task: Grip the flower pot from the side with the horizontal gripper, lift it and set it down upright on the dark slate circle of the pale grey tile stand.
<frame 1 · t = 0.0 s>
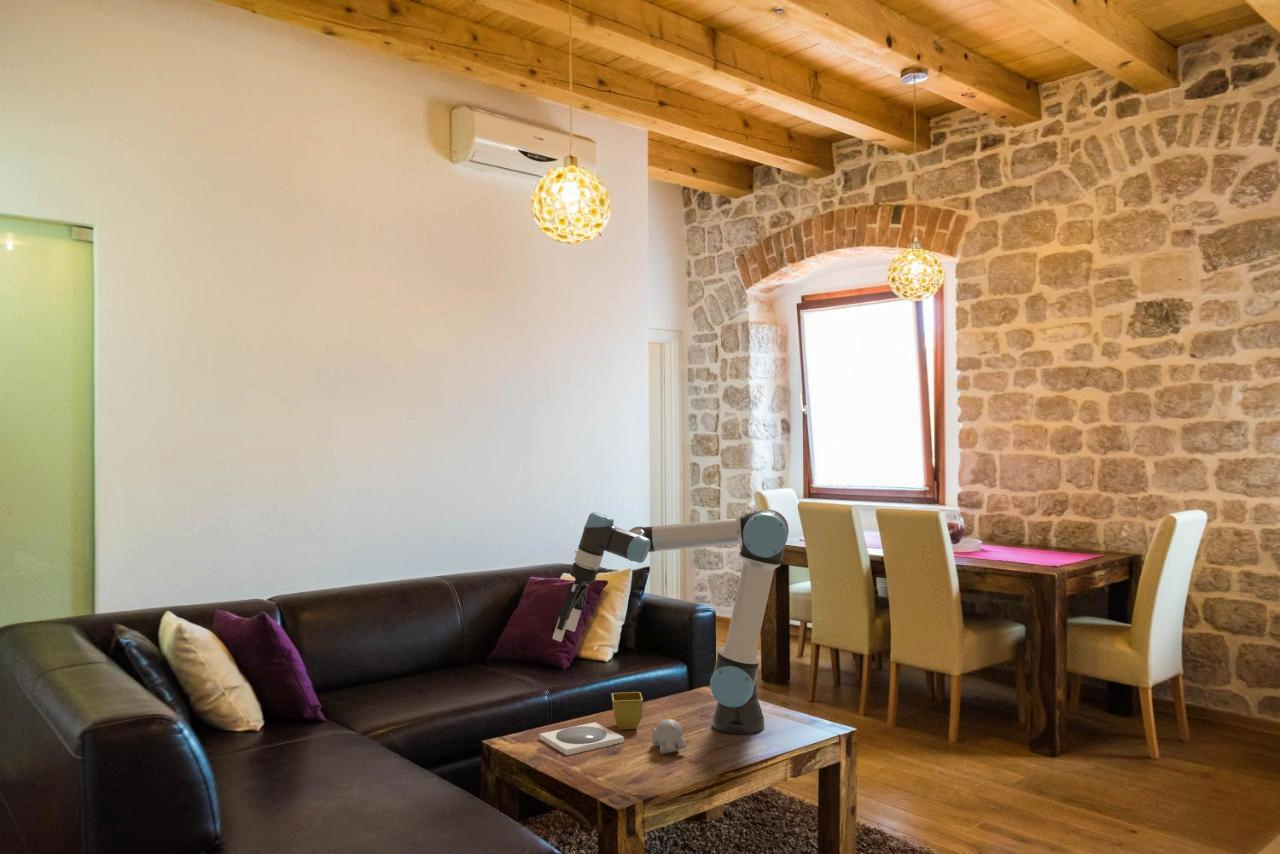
hand: (563, 635, 257), 28 cm above the table, tool tilted 20°, fingers open, 13 cm apart
flower pot: (627, 727, 261), on the table
hippopotamus figurine: (666, 751, 240), on the table
tile stand: (581, 740, 249), on the table
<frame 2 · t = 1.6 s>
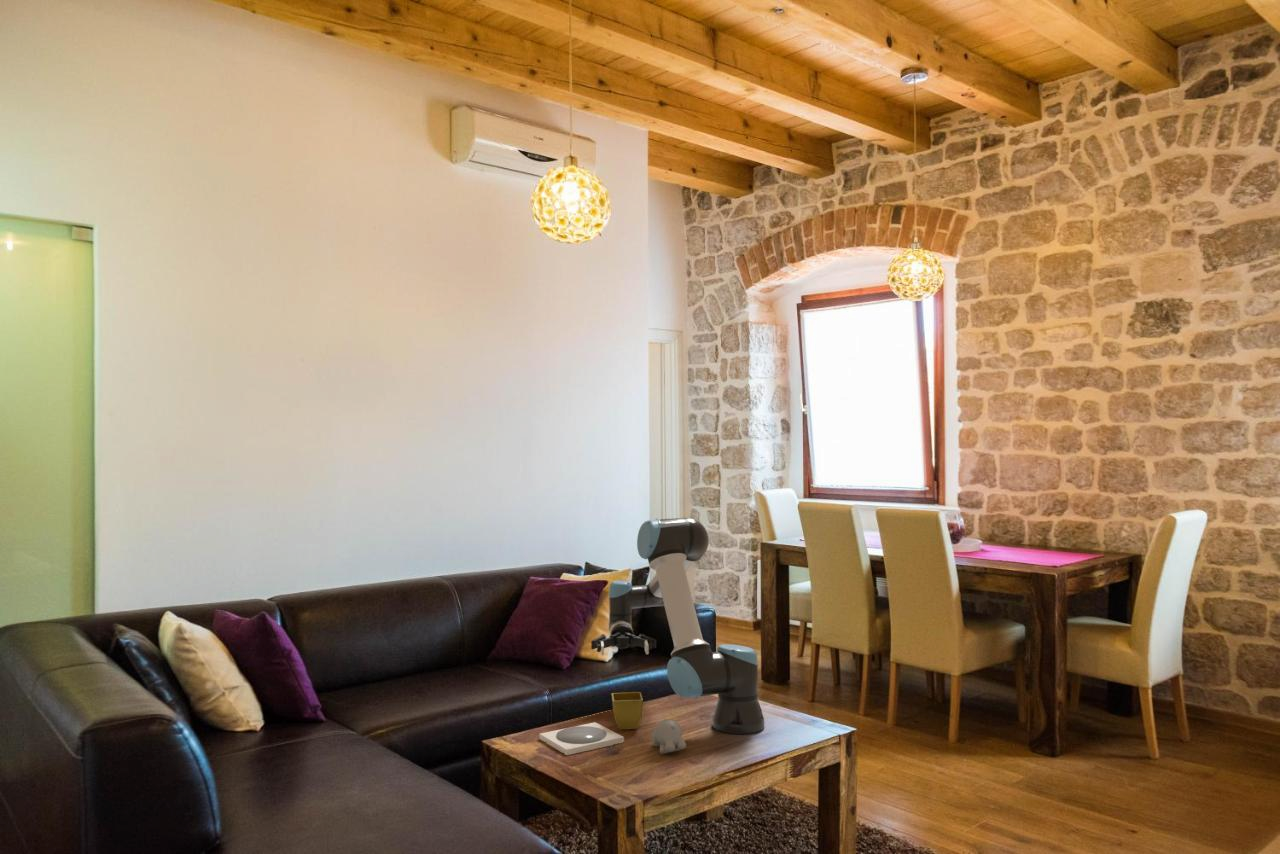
hand: (625, 650, 270), 20 cm above the table, tool horizontal, fingers open, 13 cm apart
nothing on the table moved.
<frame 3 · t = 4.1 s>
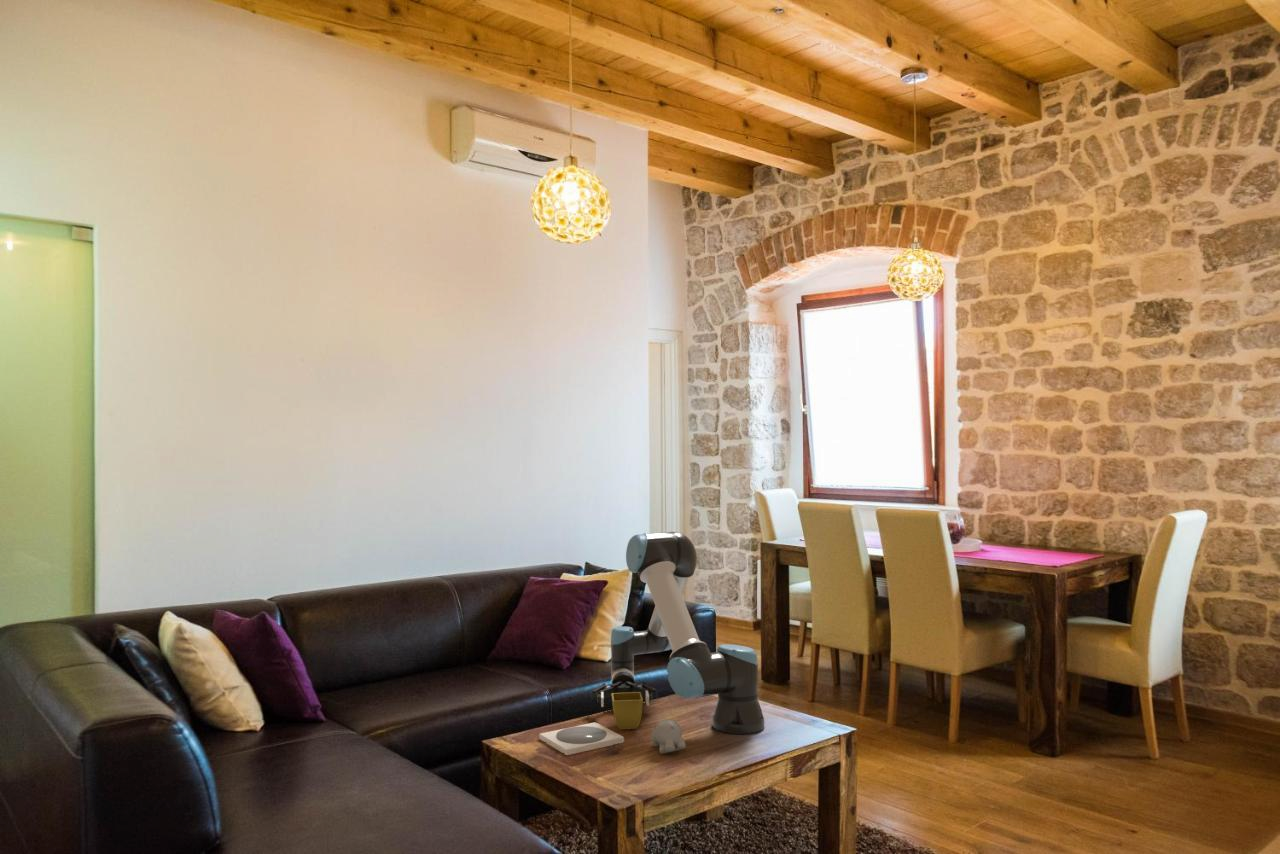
hand: (625, 701, 266), 6 cm above the table, tool horizontal, fingers open, 13 cm apart
nothing on the table moved.
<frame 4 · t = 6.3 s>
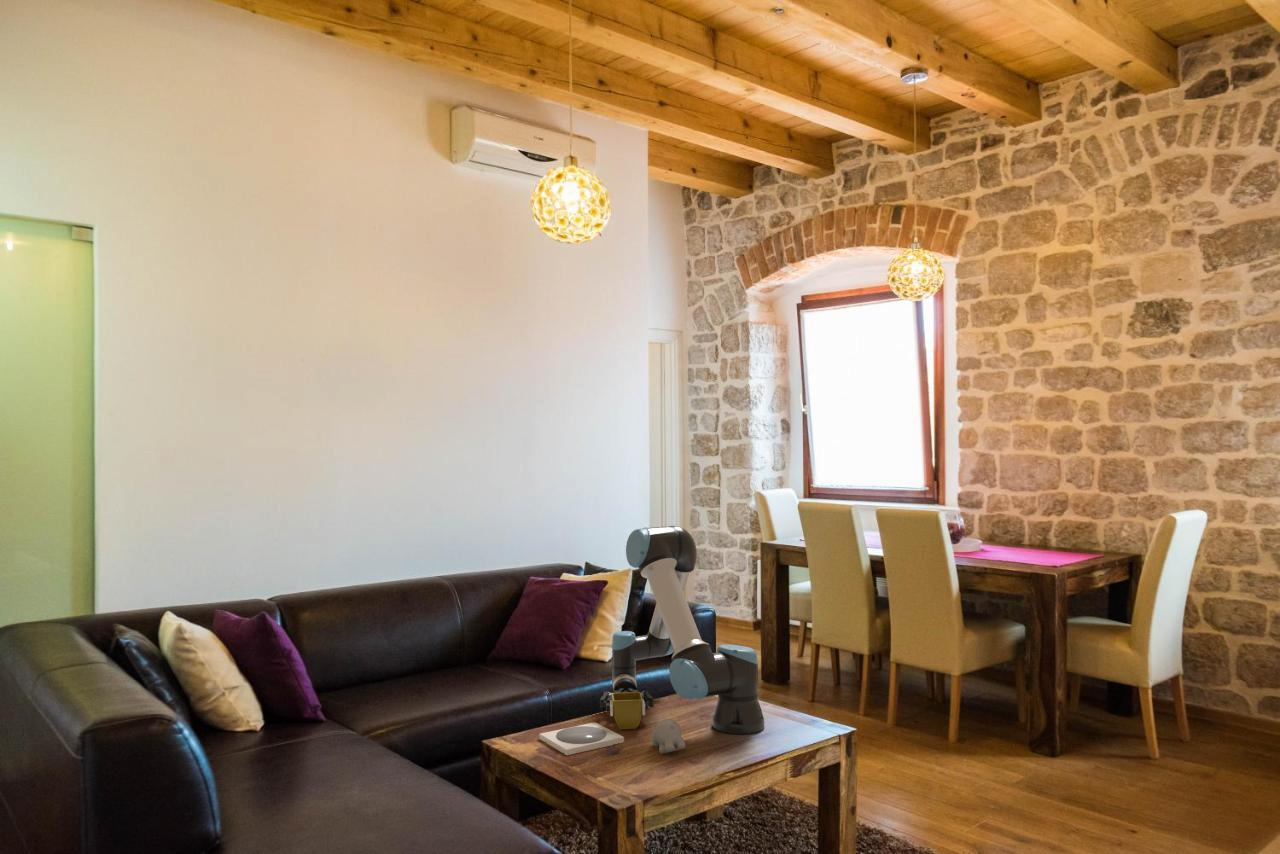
hand: (627, 710, 256), 6 cm above the table, tool horizontal, fingers closed on flower pot, 8 cm apart
flower pot: (627, 727, 261), on the table, touching gripper
everything else where it was.
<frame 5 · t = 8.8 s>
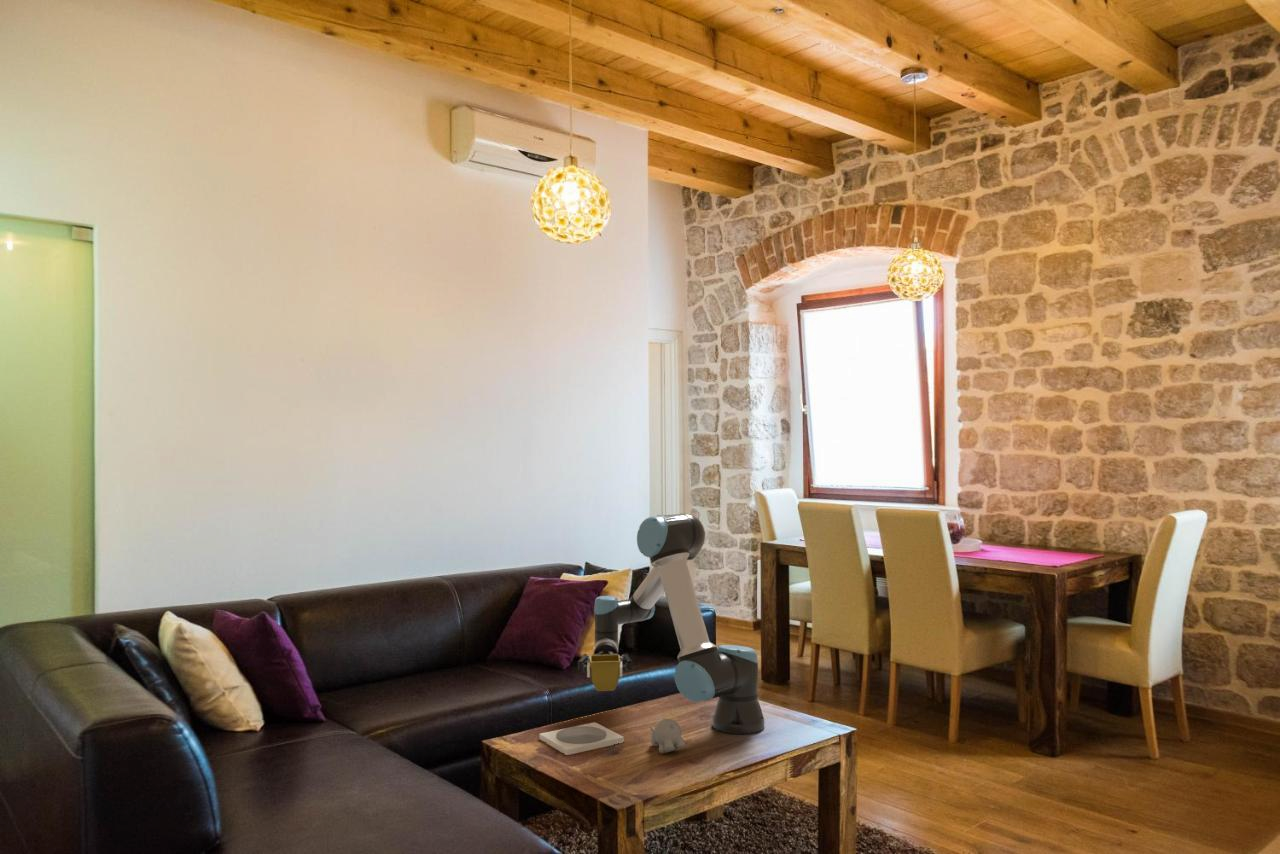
hand: (604, 672, 253), 18 cm above the table, tool horizontal, fingers closed on flower pot, 8 cm apart
flower pot: (605, 689, 257), point 12 cm above the table, touching gripper
everything else where it was.
when the fingers open (9 cm above the table, at t = 11.6 s): flower pot drops 2 cm, resting on tile stand.
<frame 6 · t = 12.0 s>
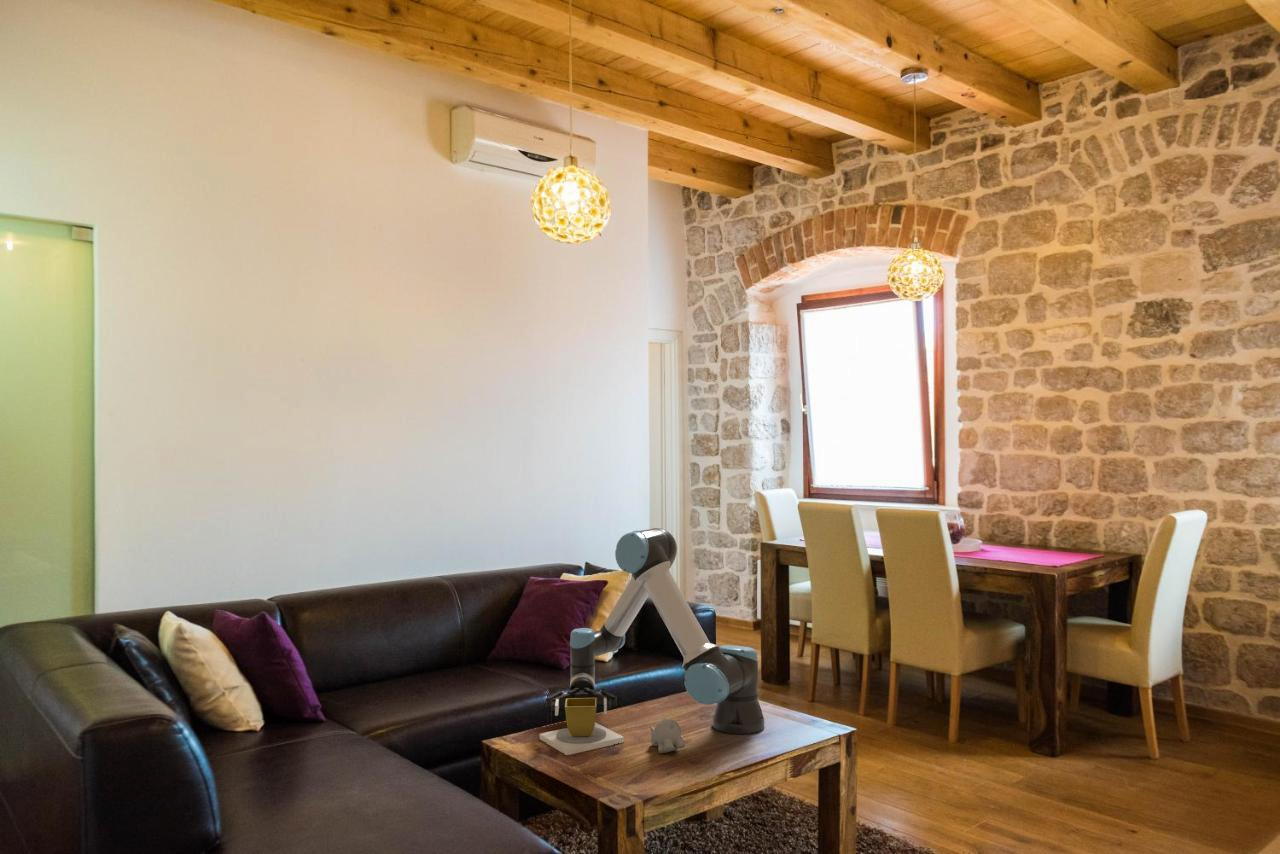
hand: (580, 710, 246), 9 cm above the table, tool horizontal, fingers open, 13 cm apart
flower pot: (581, 735, 249), point 2 cm above the table, touching tile stand
everything else where it was.
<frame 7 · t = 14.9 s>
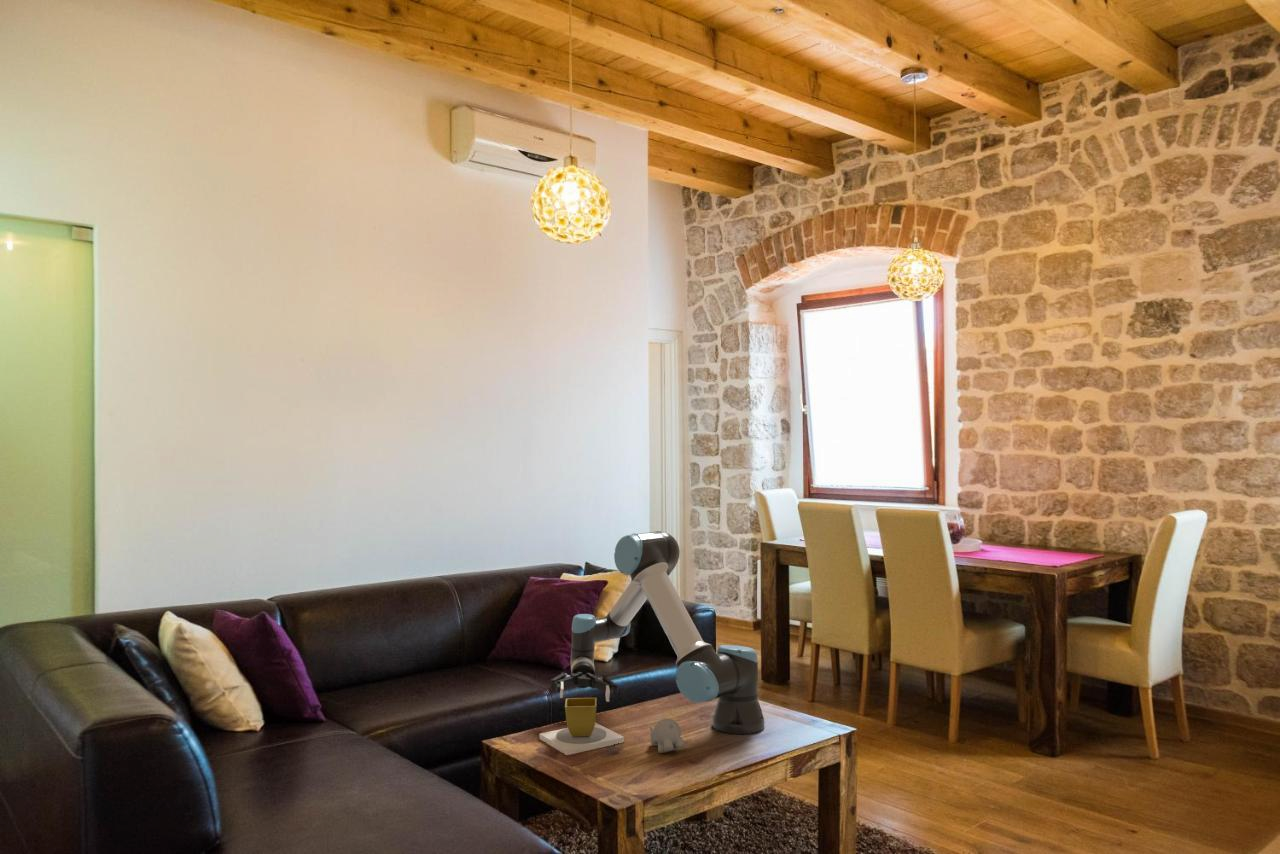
hand: (585, 695, 259), 10 cm above the table, tool horizontal, fingers open, 13 cm apart
nothing on the table moved.
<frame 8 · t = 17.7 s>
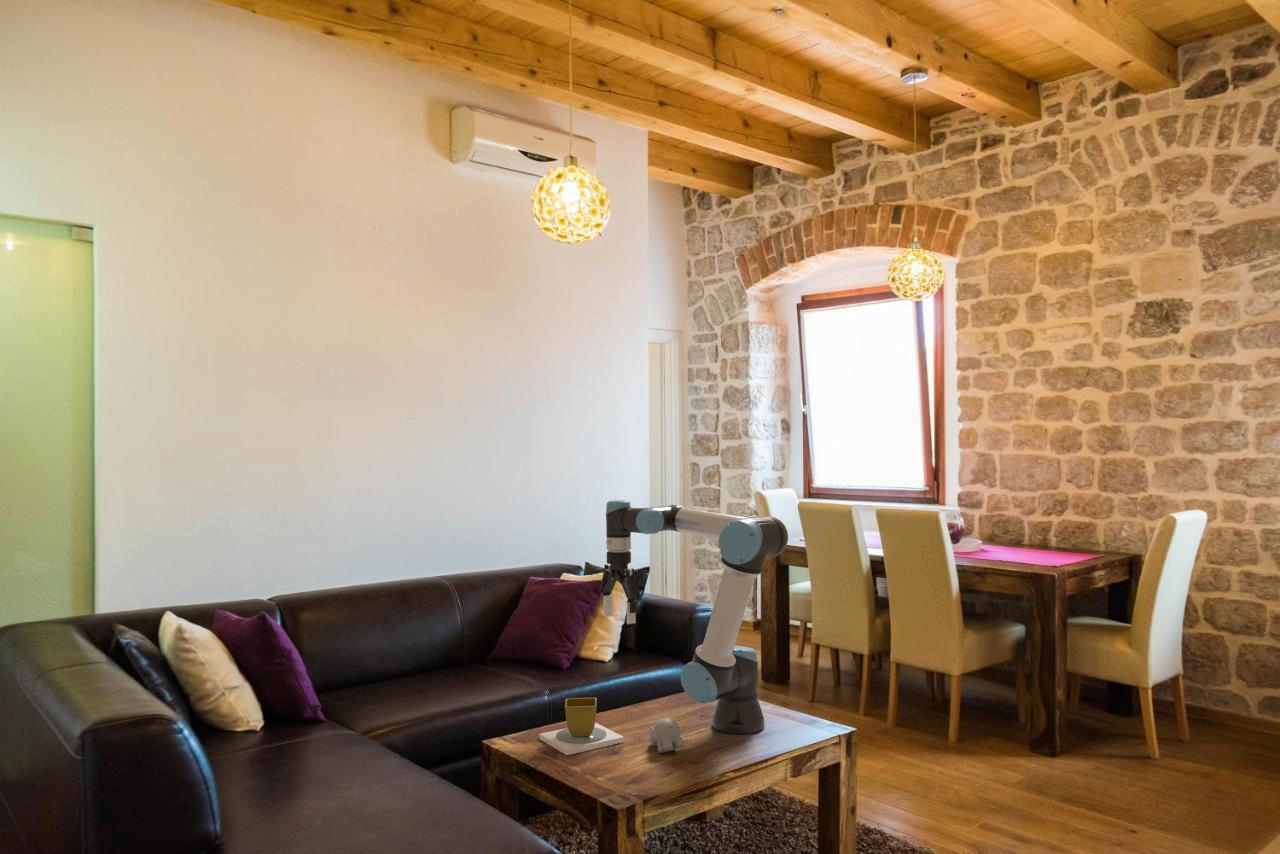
hand: (619, 619, 274), 29 cm above the table, tool pointing down, fingers open, 13 cm apart
nothing on the table moved.
at the end: flower pot inside the target area on the tile stand (0.0 cm from its centre), point 1.6 cm above the tile stand's base; flower pot tilted 0°; the gripper is holding nothing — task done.
